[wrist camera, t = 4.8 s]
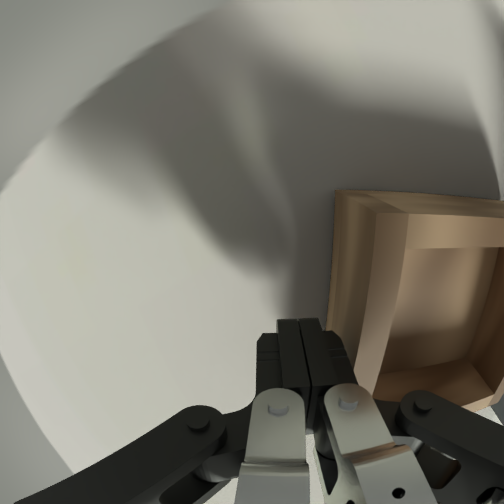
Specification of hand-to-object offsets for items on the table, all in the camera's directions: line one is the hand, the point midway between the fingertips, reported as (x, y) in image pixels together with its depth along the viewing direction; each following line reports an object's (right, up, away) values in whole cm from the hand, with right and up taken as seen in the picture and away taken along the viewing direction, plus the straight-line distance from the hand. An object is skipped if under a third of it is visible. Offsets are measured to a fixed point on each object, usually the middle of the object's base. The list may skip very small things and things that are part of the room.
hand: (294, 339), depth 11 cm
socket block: (+7, +1, +2) cm, 7 cm away
